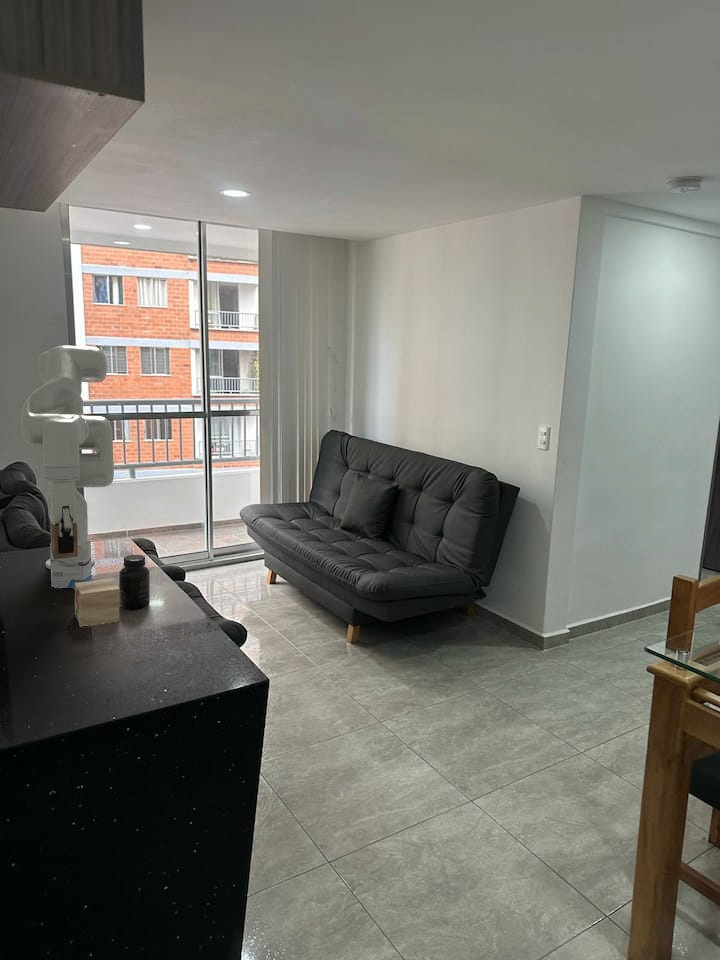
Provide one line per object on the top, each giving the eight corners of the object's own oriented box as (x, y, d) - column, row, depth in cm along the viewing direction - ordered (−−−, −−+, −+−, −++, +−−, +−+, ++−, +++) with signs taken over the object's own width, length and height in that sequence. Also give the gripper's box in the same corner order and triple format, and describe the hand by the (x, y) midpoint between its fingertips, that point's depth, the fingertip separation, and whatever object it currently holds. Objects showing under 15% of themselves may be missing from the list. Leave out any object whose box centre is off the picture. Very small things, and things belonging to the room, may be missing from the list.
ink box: (92, 584, 169) (91, 540, 167) (82, 590, 164) (81, 545, 162) (61, 581, 170) (59, 538, 168) (50, 588, 165) (49, 542, 163)
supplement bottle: (113, 608, 153) (112, 559, 151) (130, 599, 159) (130, 551, 157) (139, 612, 151) (138, 562, 149) (155, 603, 158) (155, 555, 156)
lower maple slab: (75, 616, 148) (74, 599, 147) (112, 611, 152) (112, 594, 151) (80, 628, 141) (80, 611, 141) (119, 623, 145) (118, 606, 145)
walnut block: (51, 552, 153) (50, 519, 151) (74, 550, 156) (73, 518, 154) (54, 559, 149) (53, 525, 147) (77, 556, 151) (76, 523, 150)
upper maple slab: (75, 599, 147) (74, 582, 146) (112, 594, 151) (111, 578, 151) (81, 611, 140) (80, 593, 140) (119, 606, 145) (119, 588, 144)
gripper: (40, 466, 154) (43, 540, 157) (47, 481, 139) (50, 562, 143) (74, 465, 157) (76, 537, 161) (85, 479, 143) (87, 558, 147)
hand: (64, 548), depth 152 cm, fingers closed on walnut block, 5 cm apart
